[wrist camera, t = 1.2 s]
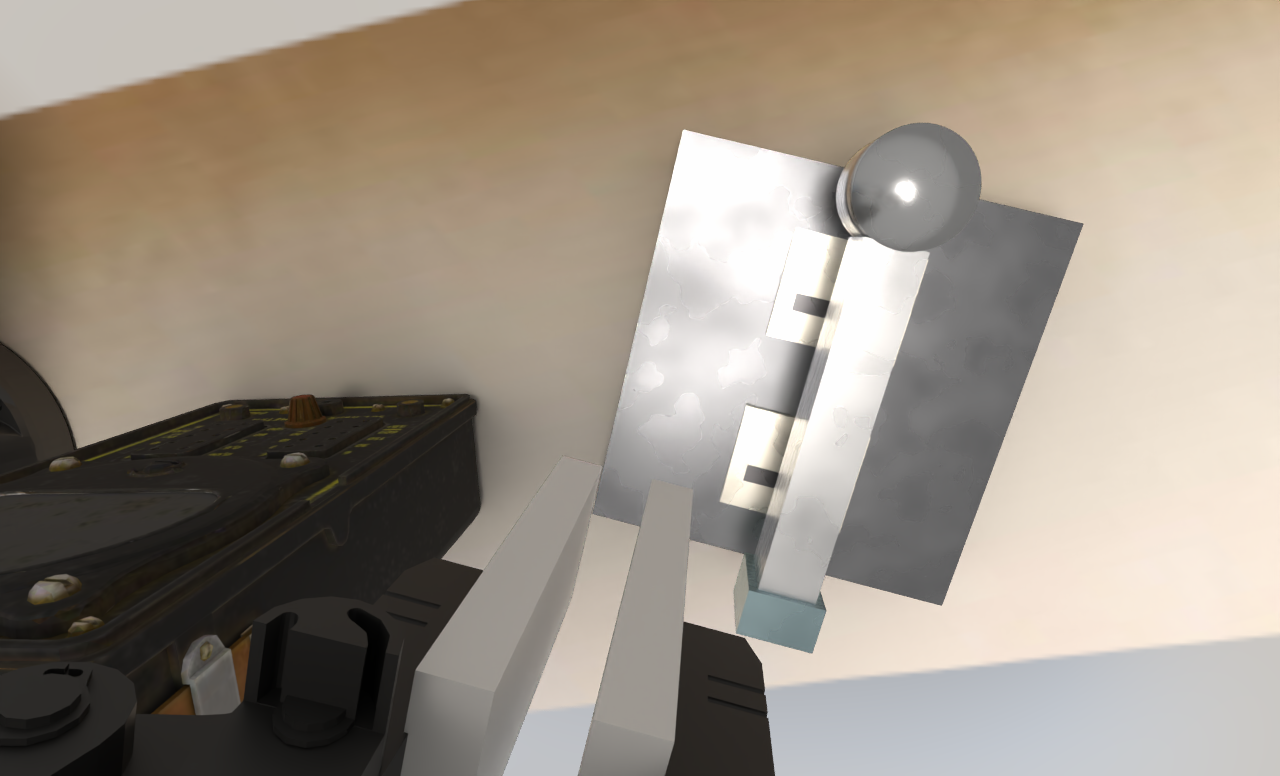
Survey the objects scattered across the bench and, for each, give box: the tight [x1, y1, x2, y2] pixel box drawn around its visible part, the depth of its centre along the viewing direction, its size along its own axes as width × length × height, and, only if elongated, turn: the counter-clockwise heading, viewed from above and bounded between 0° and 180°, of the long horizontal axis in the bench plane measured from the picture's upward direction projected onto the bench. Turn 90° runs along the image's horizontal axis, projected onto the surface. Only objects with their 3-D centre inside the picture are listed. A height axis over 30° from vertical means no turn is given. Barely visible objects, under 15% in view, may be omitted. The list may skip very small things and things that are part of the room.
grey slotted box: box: [593, 130, 1083, 606], centre depth 33 cm, size 18×20×6 cm
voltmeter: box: [0, 394, 480, 715], centre depth 28 cm, size 16×9×25 cm, turn 93°
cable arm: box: [734, 123, 981, 653], centre depth 28 cm, size 4×21×4 cm, turn 167°
